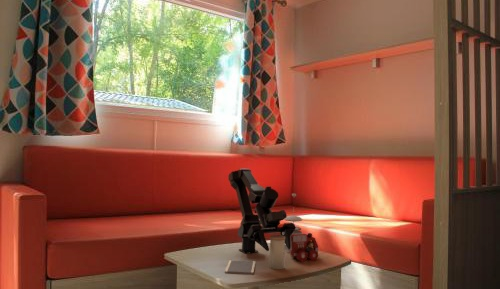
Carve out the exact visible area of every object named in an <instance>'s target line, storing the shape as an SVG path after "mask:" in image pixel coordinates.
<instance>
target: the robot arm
mask: <svg viewBox="0 0 500 289" xmlns="http://www.w3.org/2000/svg"><path fill="white" fill-rule="evenodd" d="M228 181H229V183H230V187H232V188H233V189H234V190H235V192H236V196H237V199H238V200H237V201H238V205H239V208H240V212H241V217H242V218H241V221H240V226H239V228H238V230H237V237H239V238H240V239H241V243H242V244H241V248H239V249H238V251H240V252H242V253H243V254H251V253H252V254H253V253H259V250H257V249H256V243H257V244H258V245H259V246H261V247H262V248H263V249H264V250H265V251H266V252H270V246H269V244H268V242H267V239H266V237H265V234H279V233H280V234H279V235H283V236H285V245H286V246H287V248H288V249H290V248H291V245H290V236H291V234H292V233H293V231H294V230H295V228H296V227H297V226H296V224H295V222H294V223H293V222H284V223H283V225H282V226H280V224H281V222H282V221H285V218H286V217H287V216H288V215H287V212H286V211H285V209H281V210H278V211H272V208H273V207H274V206H275V204H276V202H277V200H278V198H279V192H278V191H277V190H276V189H274V188H272V186H265V187H263V186H261V185H260V184H259V183H258V181H257V180H256V178H255V177H254V175H253V173H252V170H251V168H239V169H237V170H234V171H231V172H230V173H229V174H228ZM251 204H252V205H254V204H255V208H254V212H253V208H252V205H251ZM294 224H295V225H294Z"/></svg>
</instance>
